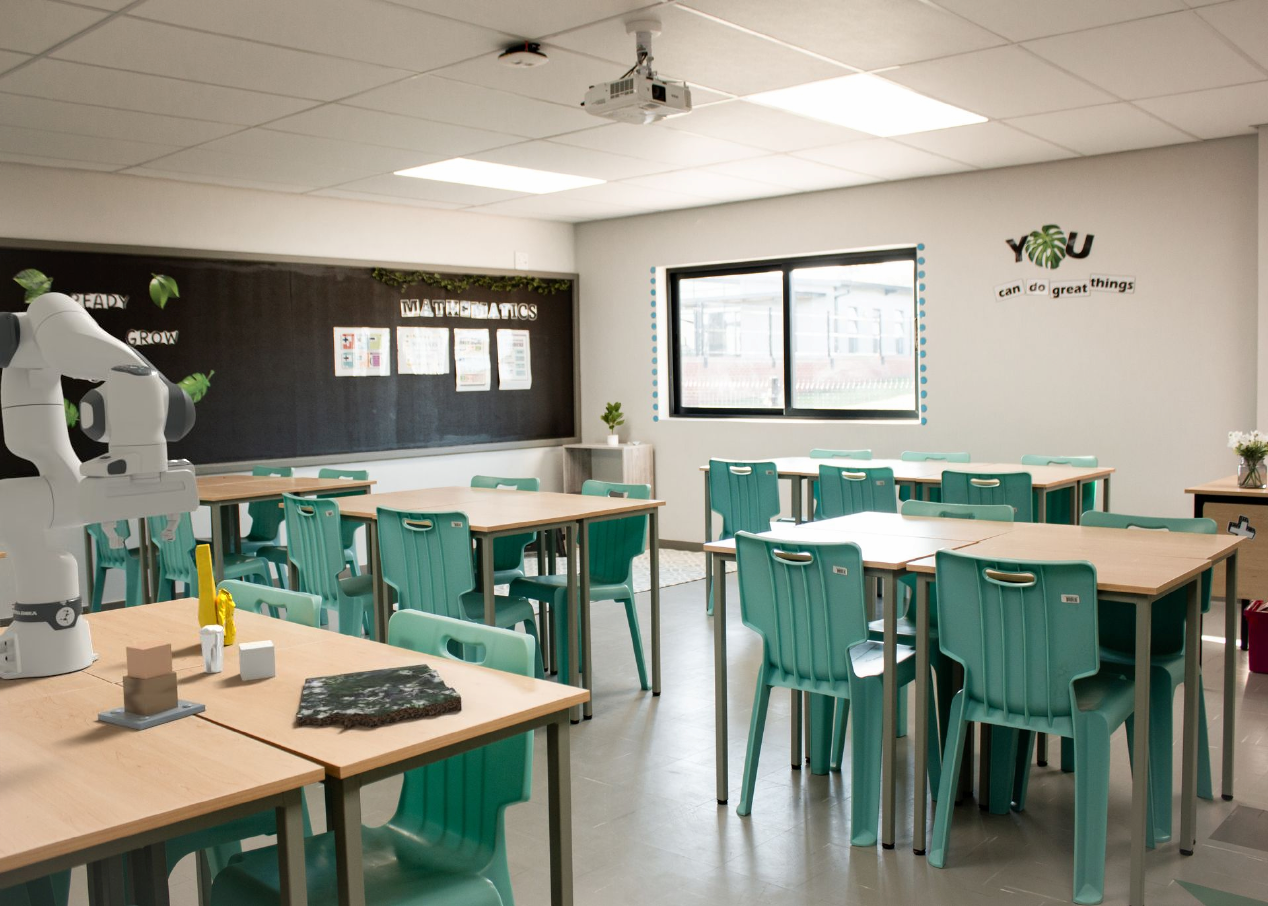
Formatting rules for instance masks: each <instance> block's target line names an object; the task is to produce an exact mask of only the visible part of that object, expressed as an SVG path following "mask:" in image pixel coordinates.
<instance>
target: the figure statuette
mask: <svg viewBox="0 0 1268 906" xmlns="http://www.w3.org/2000/svg"><path fill="white" fill-rule="evenodd" d="M210 547H211V546H210V544H209V543H206V544H199V545H196V548H195V561H196V568H197V569H196V572H197V579H198V580H197V581H198V584H197V585H198V611H197V617H198V618H197V620H198V625H199V627H200V630H201V629H202V628H203V627H205V626H207V625H219V626H222V627H223V625H224V623H225V621H226V623H225V626H224V645H223V646H230V645H233V644H234V642H235V639H236V637H237V636H236V634H237V630H236V629H237V628H236V625H235V621H234V613H235V607H236V604H235V602H234V601H233V597H232V596H233V595H232V594H231V593H230V592H229V591H227V590H226V589H225V588H220V589H219V588H218V594H217V590H216V584H215V579H214V571H213V565H212V561H213V560H212V553H211V548H210Z"/></svg>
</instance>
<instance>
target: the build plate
mask: <svg viewBox="0 0 1268 906" xmlns="http://www.w3.org/2000/svg"><path fill="white" fill-rule="evenodd" d="M202 712H206V704H203V703H200V702H199V703H198V702H194V701H188V700H185V699H180V698H178V707H176V708H173V709H169V710H166V711H162V712H159V713H156V714H152V715H149V716H142V715H138V714H133V713H129V712H125V710H124V706H121V707H118V708H115V709H111V710H106V711H103V712H99V713H97V720H98V721H102V722H106V723H110V724H115V725H118V726H122V727H126V728H131V729H135V730H138V731H139V730H140V731H142V730H145V729H149V728H153V727H155V726H158V725H161V724H165V723H168V722H171V721H175V720H178V719H181V718H185V717H188V716H192V715H195V714H198V713H202Z"/></svg>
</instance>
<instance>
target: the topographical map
mask: <svg viewBox="0 0 1268 906" xmlns="http://www.w3.org/2000/svg"><path fill="white" fill-rule="evenodd" d="M301 696H302V697H301V702H300V703H299V704H300V705H299V709H298V710H299V711H298V712H297V713H296V714H295V715H296V716H295V717H296V724H297V726H298V727H303V726H318V727H323V726H332V725H335V724H337V725H341V726H344V730H350V729H352V728H354V727H358V726H360V727H368V728H369V729H372V728H378V727H379V728H380V727H381V726H384V725H386V724H387V725H389V724H393V723H398V722H401V721H402V722H403V721H409V720H414V719H422V718H425V717H436V716H441V715H444V714H447V713H451V712H456V711H459V712H460V711H462V710H463V709H462V707H463V706H462V696H461V694H460V693H458V692H457V690H456V689H455V688H453V687H449V686H447V685H446V683H445V682H444V679H443V680H442V678H441V677H440V675H439V673H438V670H436V669H431V667H430V666H429V665H428V664H427V663H424V664H416V665H407V666H400V667H399V666H398V667H391V668H382V669H381V668H379V669H372V670H367V671H366V670H365V671H356V672H349V673H341V674H334V675H325V676H323V675H322V676H317V677H309V678H305V681H304V686H303V691H302V695H301Z"/></svg>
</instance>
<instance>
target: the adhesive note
mask: <svg viewBox="0 0 1268 906" xmlns="http://www.w3.org/2000/svg"><path fill="white" fill-rule="evenodd" d="M238 658H239V659H238V660H239V675H240V678H241V680H242V682H244V681H251V680H258V679H260V680H261V679H267V678H275V677H277V676H276V660H275V658H276V657H275V645H274V643H273V642H272V639H269V640H260V641H251V642H242V643H238Z"/></svg>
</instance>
